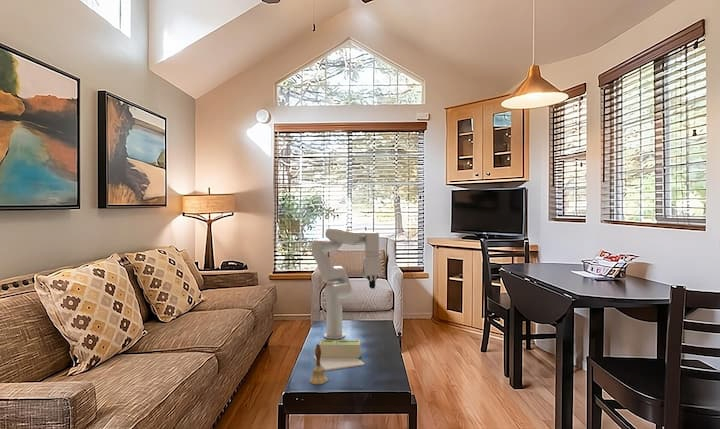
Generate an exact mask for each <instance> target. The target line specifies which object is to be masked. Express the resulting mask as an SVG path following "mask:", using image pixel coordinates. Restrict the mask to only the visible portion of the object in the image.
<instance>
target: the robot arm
mask: <svg viewBox="0 0 720 429" xmlns="http://www.w3.org/2000/svg"><path fill="white" fill-rule="evenodd" d="M343 244H344V245H348V246H358V245H359V246H360V245H361V246H363V245H365V247H364V250H365V251H364V252H365V254H364V257H363V260H362V266H361V268H362V269H361V274H362V278H364V279H366V280H368V285H369V288H370V289H372V290H373V289H376V281H377V280H378V278H382V273H383V272H382V271H383V269H382V261H381V260H382V259H381V257H380V255H382V252H381V251H380V234H379V232H377V231H368V230H361V231H360V230H358V231H351V230H350V229H349V228H347V227H345V226H331V227H329V228H327V229H326V230H325V238H316V239H315V240H314V241H313V242H312V244H311V254H312V257H313V258H314V260H315V263H316V264H317V268H318V270H319V273H320V276H321V279H322V281H323V282H324V283H325V284H326V283H327V284H328V283H330V284H328V285H326V286H325V288H324V298H325V303H326V304H325V305H326V311H325V312H326V332H325V333H323V336H324V338H325V339H327V340H339V339H340V340H341V339H343V338H344V337H346V333H345V332H343V305H342V303H341V300H340V299H346V298H350V296H351V295H352V293H353V287H352V284H351V282H350V278H349V276H348V274H347V270H346V269H345V268H344V267H343V266H341V265H335V266H333V263H332V260H331V258H330V256H328V255H327V254H326V253H329V252H332V253H333V252H336V251H339V250H340V248H341V247H342V246H343Z"/></svg>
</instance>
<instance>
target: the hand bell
mask: <svg viewBox="0 0 720 429" xmlns="http://www.w3.org/2000/svg"><path fill="white" fill-rule="evenodd" d="M319 344H320V343H319ZM319 344H316V345H315V350H314V352H315V353H314V354H315V355H314V356H316V359H317V361H316V360H315V361H316V363H315V365H316V366H315V367H314V368H313V369H312V375H311V377H310V378H309V381H308V382H309V383H310V384H312V385H323V384H326V383H328V381H329V379H328V377H327V376H326V374H325V371H324V369H323V368H322V367H321V366H320V356H321V348H320V345H319Z"/></svg>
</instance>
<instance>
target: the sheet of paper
mask: <svg viewBox="0 0 720 429" xmlns="http://www.w3.org/2000/svg"><path fill="white" fill-rule="evenodd" d="M313 359H314V360H315V361H317V359H316V355H313ZM362 366H365V362H363V361H362V360H361V359H360V358H340V357H320V367H322V368H323V369H324V372H327V371H328V372H329V371H334V370H341V369H349V368H354V367H362Z"/></svg>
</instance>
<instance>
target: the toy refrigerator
mask: <svg viewBox="0 0 720 429" xmlns="http://www.w3.org/2000/svg"><path fill="white" fill-rule="evenodd" d="M319 345H320V348H321V356H320V357H340V358H358V359H360V358H361V352H362V351H361V348H362V347H361V340H360V339H359V340H357V339H356V340H351V339H350V340H349V339H348V340H347V339H346V340H344V339H343V340H342V339H340V340H339V339H322V340H320V342H319Z"/></svg>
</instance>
